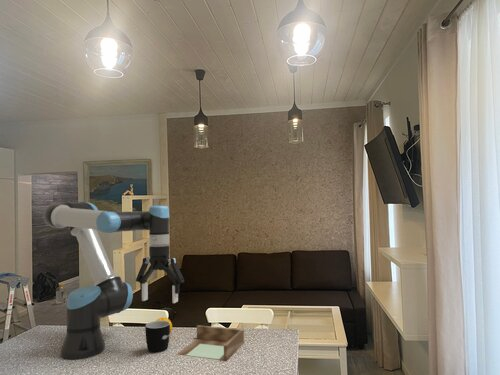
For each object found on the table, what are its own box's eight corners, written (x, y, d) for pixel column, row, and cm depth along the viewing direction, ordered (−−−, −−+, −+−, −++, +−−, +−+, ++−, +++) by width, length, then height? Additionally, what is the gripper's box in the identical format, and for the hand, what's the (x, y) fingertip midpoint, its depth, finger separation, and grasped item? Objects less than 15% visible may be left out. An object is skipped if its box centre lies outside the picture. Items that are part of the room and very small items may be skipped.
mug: (163, 357, 125) (162, 328, 126) (140, 355, 127) (140, 327, 128) (177, 345, 137) (177, 318, 137) (157, 343, 139) (156, 317, 139)
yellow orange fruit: (168, 331, 153) (168, 313, 154) (175, 336, 147) (174, 318, 147) (150, 335, 149) (150, 317, 149) (156, 340, 142) (156, 321, 143)
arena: (176, 357, 125) (175, 340, 125) (198, 340, 141) (198, 325, 141) (227, 363, 118) (226, 345, 119) (244, 345, 134) (244, 329, 135)
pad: (185, 355, 124) (185, 354, 124) (200, 344, 134) (200, 343, 134) (219, 359, 119) (219, 359, 120) (231, 347, 130) (231, 347, 130)
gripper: (126, 246, 135) (126, 301, 134) (182, 246, 127) (183, 305, 126) (138, 244, 142) (138, 297, 141) (192, 244, 134) (193, 300, 133)
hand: (159, 301), depth 133 cm, fingers open, 13 cm apart
